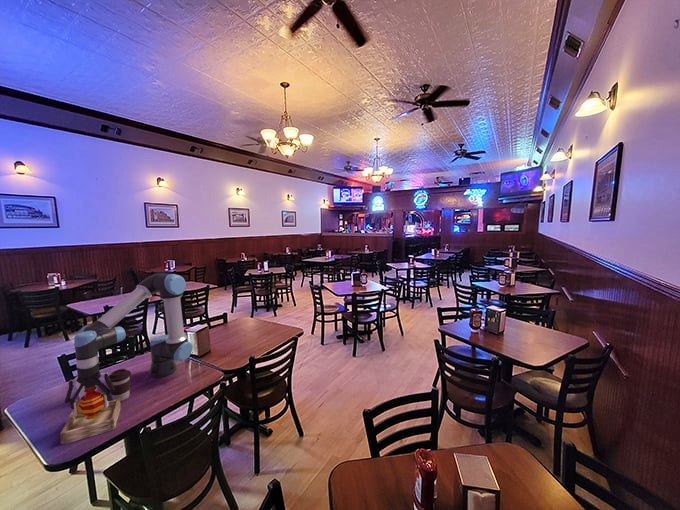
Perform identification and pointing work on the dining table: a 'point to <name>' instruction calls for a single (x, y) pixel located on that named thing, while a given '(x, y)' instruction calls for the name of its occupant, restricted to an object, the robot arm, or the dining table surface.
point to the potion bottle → (91, 402)
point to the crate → (90, 423)
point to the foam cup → (81, 389)
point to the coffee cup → (120, 384)
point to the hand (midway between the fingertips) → (92, 410)
